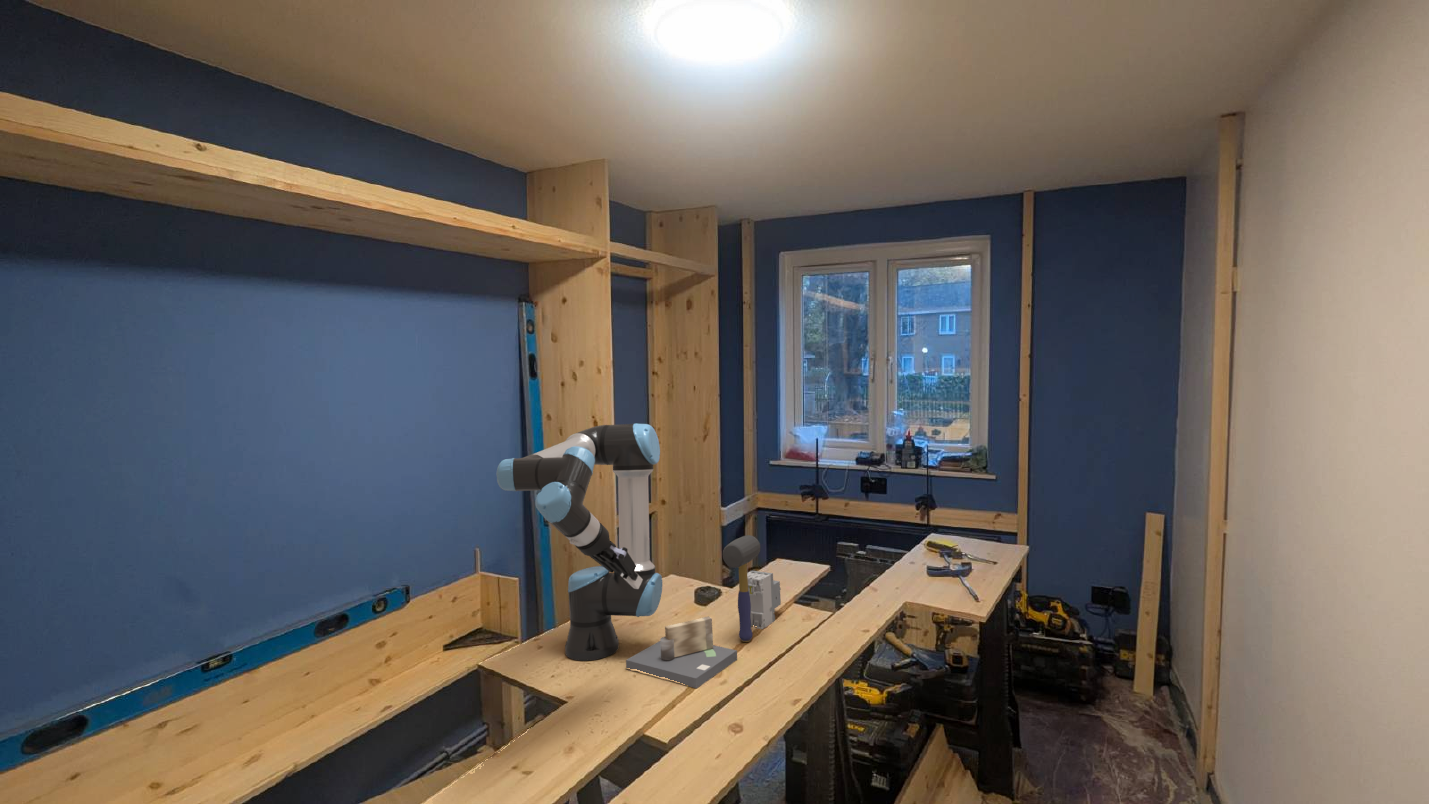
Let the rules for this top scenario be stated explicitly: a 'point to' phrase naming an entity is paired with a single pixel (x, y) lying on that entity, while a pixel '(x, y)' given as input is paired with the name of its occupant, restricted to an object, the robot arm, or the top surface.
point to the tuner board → (684, 664)
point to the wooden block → (686, 638)
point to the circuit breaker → (763, 598)
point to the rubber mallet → (742, 578)
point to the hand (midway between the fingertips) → (638, 583)
